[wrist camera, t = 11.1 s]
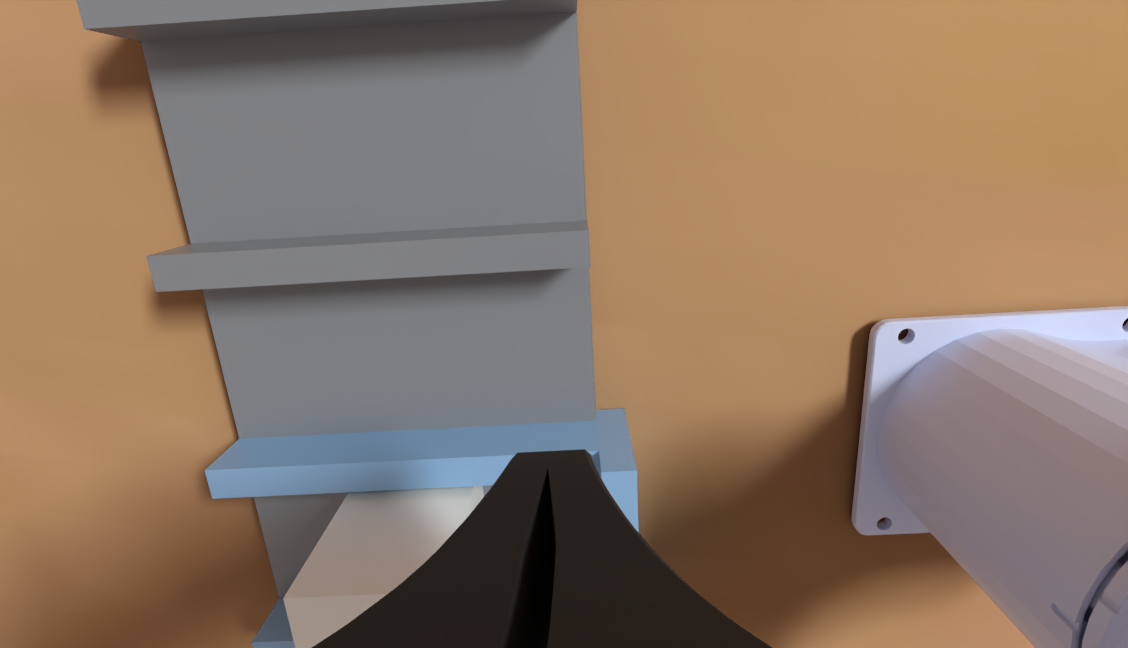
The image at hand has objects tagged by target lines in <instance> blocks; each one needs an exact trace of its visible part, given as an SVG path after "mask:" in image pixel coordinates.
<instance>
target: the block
mask: <svg viewBox="0 0 1128 648" xmlns="http://www.w3.org/2000/svg"><path fill="white" fill-rule="evenodd" d="M483 497H484V493H483V486H467V487H447V488H426V489H405V490H385V491H364V492H349V493H348V494H347V496H346V498H345V499H344V501H343V502H342V504H341V506H340V507H339V509H338V511H337V512H336V514H335V515H334V517H333V519H332V520H331V522H330V524H329V525H328V527H327V528H326V530H325V532H324V533H323V535H322V536H321V538H320V540H319V541H318V543H317V545H316V546H315V548H314V549H313V551H312V553H311V554H310V556H309V558H308V559H307V561H306V562H305V564H304V566H303V567H302V569H301V570H300V572H299V574H298V575H297V577H296V579H295V580H294V582H293V583H292V585H291V587H290V588H289V590H288V592H287V593H286V595H285V596H284V598H283V600H284V604H285V608H286V612H287V616H288V620H289V624H290V628H291V632H292V636H293V640H294V644H295V648H312V647H313V646H315V645H316V644H318V643H319V642H321V641H323V640H324V639H326V638H327V637H329V636H330V635H332V634H333V633H335V632H336V631H338V630H339V629H341V628H342V627H344V626H345V625H347V624H348V623H349V622H351V621H352V620H353V619H355V618H356V617H357V616H359V615H360V614H361V613H363V612H364V611H365V610H367V609H368V608H369V607H371V606H372V605H373V604H375V603H376V602H378V601H379V600H380V599H382V598H383V597H384V596H386V595H387V594H388V593H390V592H391V591H392V590H394V589H395V588H396V587H397V586H398V585H400V584H401V583H402V582H403V581H404V580H406V579H407V578H408V577H409V576H410V575H411V574H412V573H414V572H415V571H416V570H417V569H418V568H419V567H420V566H421V565H423V564H424V563H425V562H426V561H427V560H428V559H429V558H430V557H431V556H432V555H433V554H434V553H435V552H436V551H437V550H438V549H439V548H440V547H441V546H442V545H443V544H444V542H445V541H446V540H447V539H448V538H449V537H450V536H451V535H452V534H453V533H454V532H455V530H456V529H457V528H458V527H459V526H460V525H461V524H462V523H463V522H464V521H465V519H466V518H467V517H468V516H469V515H470V513H471V512H472V511H473V510H474V509H475V507H476V506H477V505H478V504H479V502H480V501H481V500H482V499H483Z"/></svg>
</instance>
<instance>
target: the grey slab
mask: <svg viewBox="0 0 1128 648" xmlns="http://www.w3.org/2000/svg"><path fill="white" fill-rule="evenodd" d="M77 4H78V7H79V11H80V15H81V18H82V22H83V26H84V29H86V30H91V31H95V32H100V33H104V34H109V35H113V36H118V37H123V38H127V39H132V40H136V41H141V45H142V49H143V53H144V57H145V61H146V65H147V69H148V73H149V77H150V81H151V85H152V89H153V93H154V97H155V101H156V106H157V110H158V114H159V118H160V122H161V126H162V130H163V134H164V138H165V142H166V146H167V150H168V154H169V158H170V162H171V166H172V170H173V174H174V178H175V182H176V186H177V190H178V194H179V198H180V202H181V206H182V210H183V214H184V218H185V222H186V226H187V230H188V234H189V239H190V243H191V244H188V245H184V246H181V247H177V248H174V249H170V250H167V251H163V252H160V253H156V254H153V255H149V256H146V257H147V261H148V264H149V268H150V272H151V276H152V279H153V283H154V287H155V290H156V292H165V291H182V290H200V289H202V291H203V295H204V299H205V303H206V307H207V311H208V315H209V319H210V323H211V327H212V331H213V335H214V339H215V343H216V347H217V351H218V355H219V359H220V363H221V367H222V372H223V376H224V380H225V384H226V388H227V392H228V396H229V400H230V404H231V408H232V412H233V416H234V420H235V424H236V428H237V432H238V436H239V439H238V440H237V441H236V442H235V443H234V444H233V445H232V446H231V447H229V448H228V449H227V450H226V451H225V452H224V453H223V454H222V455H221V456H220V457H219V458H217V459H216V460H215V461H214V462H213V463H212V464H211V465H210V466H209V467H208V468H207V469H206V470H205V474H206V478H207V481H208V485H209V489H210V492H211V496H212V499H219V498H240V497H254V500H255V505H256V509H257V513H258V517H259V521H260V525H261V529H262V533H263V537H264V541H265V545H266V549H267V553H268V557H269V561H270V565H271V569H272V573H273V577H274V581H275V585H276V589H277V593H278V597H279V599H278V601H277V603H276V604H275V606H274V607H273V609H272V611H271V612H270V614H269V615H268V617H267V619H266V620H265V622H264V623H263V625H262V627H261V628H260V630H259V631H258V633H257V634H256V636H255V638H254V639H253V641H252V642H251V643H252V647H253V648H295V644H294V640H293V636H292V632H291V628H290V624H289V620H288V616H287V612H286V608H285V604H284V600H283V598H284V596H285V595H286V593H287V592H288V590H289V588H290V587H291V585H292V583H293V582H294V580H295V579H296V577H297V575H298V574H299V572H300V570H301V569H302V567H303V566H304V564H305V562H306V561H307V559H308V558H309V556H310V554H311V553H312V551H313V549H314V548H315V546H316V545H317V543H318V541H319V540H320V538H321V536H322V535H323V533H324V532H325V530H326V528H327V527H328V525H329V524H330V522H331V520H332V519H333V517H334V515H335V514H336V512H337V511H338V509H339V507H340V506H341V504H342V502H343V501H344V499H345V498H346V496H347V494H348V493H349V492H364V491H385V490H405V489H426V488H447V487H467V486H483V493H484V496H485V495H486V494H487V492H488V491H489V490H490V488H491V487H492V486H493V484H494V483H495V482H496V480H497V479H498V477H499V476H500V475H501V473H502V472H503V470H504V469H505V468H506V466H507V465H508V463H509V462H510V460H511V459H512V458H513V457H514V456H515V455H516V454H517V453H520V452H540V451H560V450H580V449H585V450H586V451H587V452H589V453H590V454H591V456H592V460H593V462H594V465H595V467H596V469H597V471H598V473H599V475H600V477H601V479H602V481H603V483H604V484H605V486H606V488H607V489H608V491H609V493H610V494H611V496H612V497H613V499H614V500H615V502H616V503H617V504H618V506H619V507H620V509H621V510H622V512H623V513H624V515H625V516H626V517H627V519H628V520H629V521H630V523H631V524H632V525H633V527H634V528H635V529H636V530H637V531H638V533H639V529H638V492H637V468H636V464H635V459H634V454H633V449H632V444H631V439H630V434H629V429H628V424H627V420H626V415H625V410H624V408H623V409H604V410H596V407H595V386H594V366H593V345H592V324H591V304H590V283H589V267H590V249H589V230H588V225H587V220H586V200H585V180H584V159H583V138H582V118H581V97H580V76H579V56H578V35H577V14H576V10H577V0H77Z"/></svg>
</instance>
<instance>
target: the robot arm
mask: <svg viewBox="0 0 1128 648" xmlns="http://www.w3.org/2000/svg"><path fill="white" fill-rule="evenodd" d="M1127 318H1128V306H1117V307H1099V308H1081V309H1062V310H1044V311H1026V312H1007V313H989V314H970V315H952V316H934V317H915V318H897V319H885V320H881V321H879V322H877V323H876V324H875V325H874V326H873V327H872V329H871V331H870V335H869V345H868V355H867V365H866V376H865V386H864V396H863V406H862V416H861V427H860V437H859V447H858V457H857V467H856V478H855V488H854V498H853V508H852V518H851V520H852V524H853V526H854V527H855V528H856V530H857V531H858V532H859V533H860V534H862V535H868V536H869V535H891V534H913V533H931V534H932V535H933V536H934V537H935V538H936V540H937V541H938V542H939V543H940V544H941V545H942V546H943V547H944V548H945V549H946V550H947V552H948V553H949V554H950V555H951V556H952V557H953V558H954V559H955V560H956V561H957V563H958V564H959V565H960V566H961V567H962V568H963V569H964V570H965V571H966V572H967V573H968V575H969V576H970V577H971V578H972V579H973V580H974V581H975V582H976V583H977V584H978V586H979V587H980V588H981V589H982V590H983V591H984V592H985V593H986V594H987V595H988V597H989V598H990V599H991V600H992V601H993V602H994V603H995V604H996V605H997V606H998V607H999V609H1000V610H1001V611H1002V612H1003V613H1004V614H1005V615H1006V616H1007V617H1008V618H1009V620H1010V621H1011V622H1012V623H1013V624H1014V625H1015V626H1016V627H1017V628H1018V629H1019V630H1020V632H1021V633H1022V634H1023V635H1024V636H1025V637H1026V638H1027V639H1028V640H1029V641H1030V643H1031V644H1032V645H1033V646H1034V647H1035V648H1128V322H1127V324H1126V325H1125V326H1124V327H1122V325H1123V323H1124V321H1125V320H1126V319H1127ZM907 328H908V334H907V336H906V337H905V338H904V339H902V340H898V335H899V333H900V332H901V331H902V330H904V329H907ZM884 517H886V519H885V520H884V521H883V522H881V523H877V522H878V521H879V520H880V519H881V518H884ZM312 648H772V647H770V646H769V645H767V644H766V643H764V642H763V641H761V640H760V639H758V638H756V637H755V636H753V635H752V634H750V633H749V632H747V631H746V630H744V629H743V628H741V627H740V626H739V625H737V624H736V623H735V622H733V621H732V620H730V619H729V618H728V617H727V616H725V615H724V614H723V613H722V612H720V611H719V610H718V609H716V608H715V607H714V606H713V605H711V604H710V603H709V602H708V601H706V600H705V599H704V598H702V597H701V596H700V595H699V594H698V593H696V592H695V591H694V590H693V589H692V588H691V587H690V586H689V585H688V584H687V583H685V582H684V581H683V580H682V579H681V578H680V577H679V576H678V575H677V574H676V573H675V572H674V571H673V570H672V569H671V568H670V567H669V566H668V565H667V564H666V563H665V562H664V561H663V560H662V559H661V558H660V557H659V556H658V555H657V554H656V553H655V551H654V550H653V549H652V548H651V547H650V546H649V545H648V544H647V542H646V541H645V540H644V539H643V538H642V536H641V535H640V534H639V533H638V531H637V530H636V529H635V528H634V527H633V525H632V524H631V523H630V521H629V520H628V519H627V517H626V516H625V515H624V513H623V512H622V510H621V509H620V507H619V506H618V504H617V503H616V502H615V500H614V499H613V497H612V496H611V494H610V493H609V491H608V489H607V488H606V486H605V484H604V483H603V481H602V479H601V477H600V475H599V473H598V471H597V469H596V467H595V465H594V462H593V460H592V456H591V454H590V453H589V452H587V451H586V450H585V449H580V450H560V451H540V452H520V453H517V454H516V455H515V456H514V457H513V458H512V459H511V460H510V462H509V463H508V465H507V466H506V468H505V469H504V470H503V472H502V473H501V475H500V476H499V477H498V479H497V480H496V482H495V483H494V484H493V486H492V487H491V488H490V490H489V491H488V492H487V494H486V495H485V496H484V497H483V499H482V500H481V501H480V502H479V504H478V505H477V506H476V507H475V509H474V510H473V511H472V512H471V513H470V515H469V516H468V517H467V518H466V519H465V521H464V522H463V523H462V524H461V525H460V526H459V527H458V528H457V529H456V530H455V532H454V533H453V534H452V535H451V536H450V537H449V538H448V539H447V540H446V541H445V542H444V544H443V545H442V546H441V547H440V548H439V549H438V550H437V551H436V552H435V553H434V554H433V555H432V556H431V557H430V558H429V559H428V560H427V561H426V562H425V563H424V564H423V565H421V566H420V567H419V568H418V569H417V570H416V571H415V572H414V573H412V574H411V575H410V576H409V577H408V578H407V579H406V580H404V581H403V582H402V583H401V584H400V585H398V586H397V587H396V588H395V589H394V590H392V591H391V592H390V593H388V594H387V595H386V596H384V597H383V598H382V599H380V600H379V601H378V602H376V603H375V604H373V605H372V606H371V607H369V608H368V609H367V610H365V611H364V612H363V613H361V614H360V615H359V616H357V617H356V618H355V619H353V620H352V621H351V622H349V623H348V624H347V625H345V626H344V627H342V628H341V629H339V630H338V631H336V632H335V633H333V634H332V635H330V636H329V637H327V638H326V639H324V640H323V641H321V642H319V643H318V644H316V645H315V646H313V647H312Z"/></svg>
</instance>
